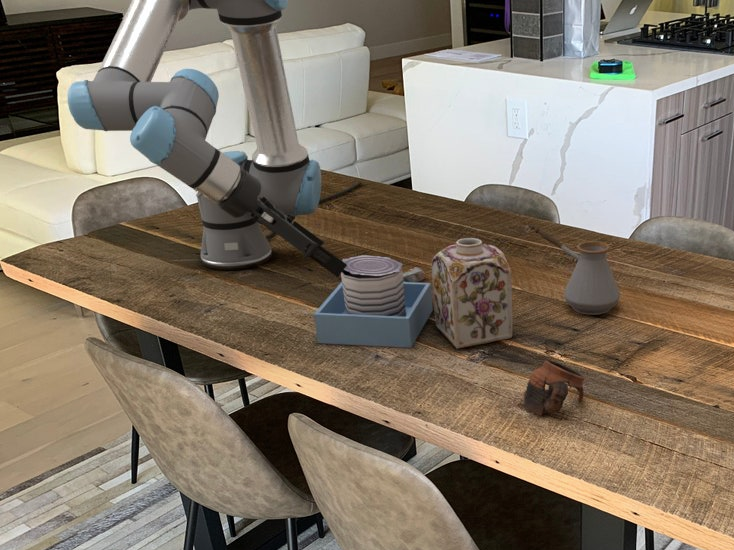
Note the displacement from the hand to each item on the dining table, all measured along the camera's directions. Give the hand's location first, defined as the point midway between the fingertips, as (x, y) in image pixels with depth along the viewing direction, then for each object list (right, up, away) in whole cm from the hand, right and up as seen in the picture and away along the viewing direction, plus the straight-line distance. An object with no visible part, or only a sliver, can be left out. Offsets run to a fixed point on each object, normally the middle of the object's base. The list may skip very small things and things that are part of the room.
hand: (330, 258), depth 157 cm
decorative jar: (+25, -13, +8) cm, 29 cm away
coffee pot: (+43, -5, +22) cm, 49 cm away
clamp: (+6, -1, +28) cm, 29 cm away
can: (+6, -10, +10) cm, 16 cm away
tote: (+6, -11, +11) cm, 16 cm away
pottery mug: (+41, -27, -16) cm, 51 cm away
